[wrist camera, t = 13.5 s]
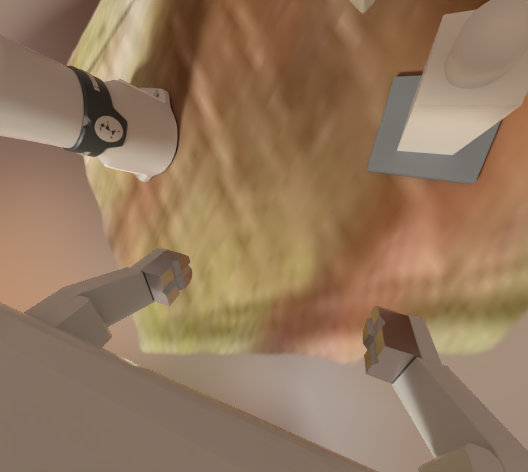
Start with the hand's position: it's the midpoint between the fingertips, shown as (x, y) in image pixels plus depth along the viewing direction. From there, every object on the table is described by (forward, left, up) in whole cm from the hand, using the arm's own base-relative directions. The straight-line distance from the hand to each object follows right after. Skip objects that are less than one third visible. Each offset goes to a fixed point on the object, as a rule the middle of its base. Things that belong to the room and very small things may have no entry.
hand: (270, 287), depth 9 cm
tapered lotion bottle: (+2, +15, -20) cm, 25 cm away
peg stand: (+2, +15, -21) cm, 26 cm away
